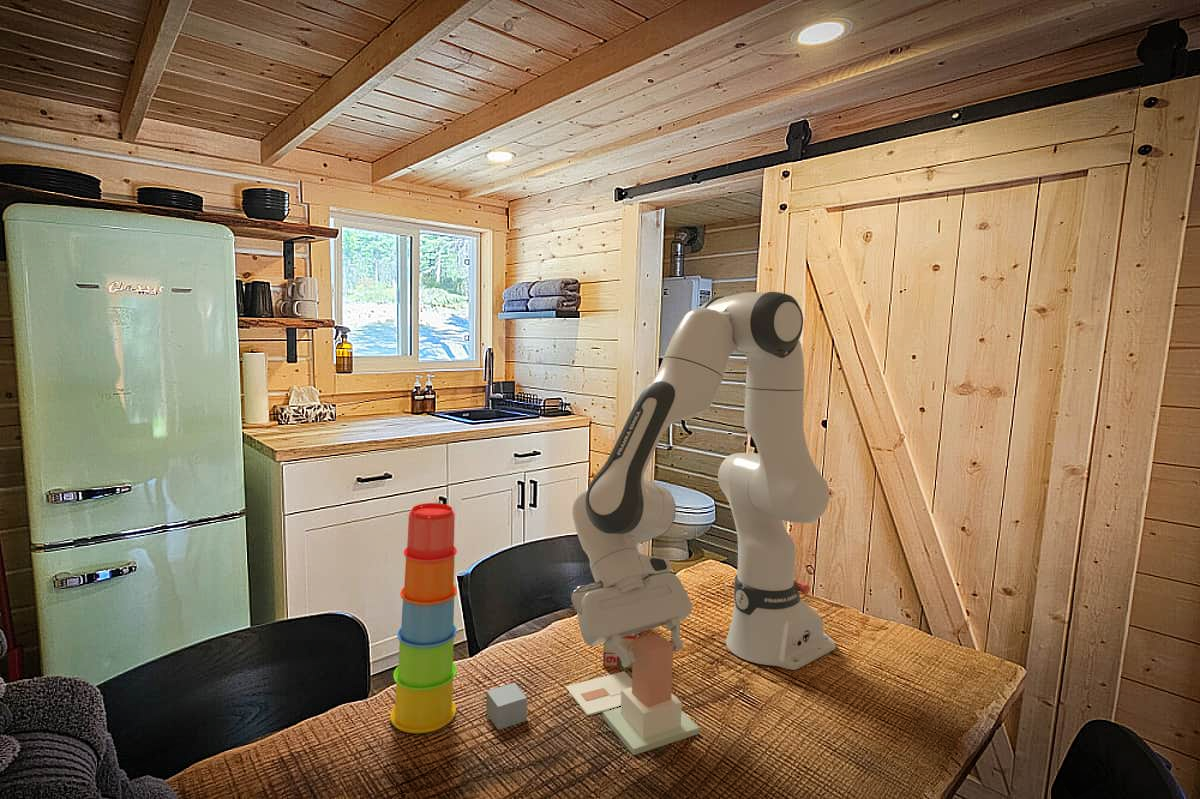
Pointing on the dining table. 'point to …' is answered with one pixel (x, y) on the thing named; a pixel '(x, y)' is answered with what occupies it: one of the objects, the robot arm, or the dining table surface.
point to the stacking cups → (427, 623)
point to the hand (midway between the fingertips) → (654, 657)
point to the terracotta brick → (652, 669)
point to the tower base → (650, 741)
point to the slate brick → (506, 705)
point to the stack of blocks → (611, 658)
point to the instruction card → (600, 692)
